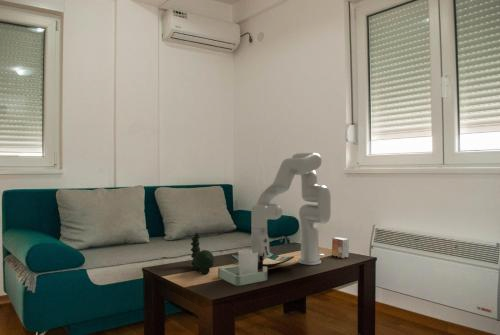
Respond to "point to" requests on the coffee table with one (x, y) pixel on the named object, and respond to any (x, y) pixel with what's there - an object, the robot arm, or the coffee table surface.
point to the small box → (340, 247)
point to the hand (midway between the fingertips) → (259, 269)
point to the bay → (232, 277)
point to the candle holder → (247, 261)
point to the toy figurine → (201, 256)
